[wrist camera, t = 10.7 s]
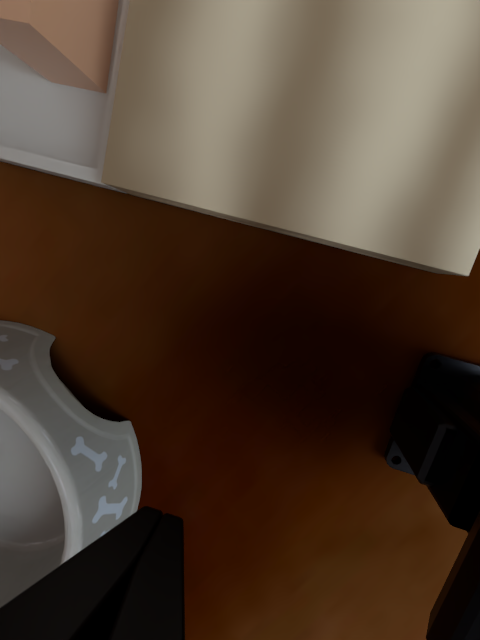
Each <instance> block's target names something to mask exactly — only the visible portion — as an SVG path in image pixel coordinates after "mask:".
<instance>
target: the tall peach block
mask: <svg viewBox="0 0 480 640" xmlns="http://www.w3.org/2000/svg"><path fill="white" fill-rule="evenodd" d="M118 4H119V0H0V45H2V46H3V47H5V48H6V49H7V50H9V51H10V52H11V53H13V54H14V55H15V56H17V57H18V58H19V59H21V60H22V61H23V62H25V63H26V64H27V65H29V66H30V67H31V68H33V69H34V70H35V71H37V72H38V73H39V74H41V75H42V76H43V77H45V78H46V79H47V80H49V81H50V82H52V83H57V84H62V85H67V86H72V87H77V88H82V89H87V90H91V91H96V92H101V93H106V92H107V85H108V77H109V70H110V63H111V55H112V48H113V41H114V33H115V26H116V19H117V11H118Z"/></svg>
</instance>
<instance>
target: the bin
mask: <svg viewBox="0 0 480 640" xmlns="http://www.w3.org/2000/svg"><path fill="white" fill-rule="evenodd" d="M129 2H130V0H119V4H118V11H117V19H116V26H115V33H114V41H113V48H112V55H111V63H110V70H109V77H108V85H107V92H106V93H101V92H96V91H91V90H87V89H82V88H77V87H72V86H67V85H62V84H57V83H52V82H50V81H49V80H47V79H46V78H45V77H43V76H42V75H41V74H39V73H38V72H37V71H35V70H34V69H33V68H31V67H30V66H29V65H27V64H26V63H25V62H23V61H22V60H21V59H19V58H18V57H17V56H15V55H14V54H13V53H11V52H10V51H9V50H7V49H6V48H5V47H3V46H2V45H0V161H1V162H5V163H9V164H13V165H17V166H21V167H25V168H28V169H32V170H36V171H40V172H44V173H48V174H52V175H56V176H60V177H63V178H67V179H71V180H75V181H79V182H83V183H87V184H91V185H95V186H98V187H102V188H106V189H110V190H114V191H118V192H122V193H126V192H123V191H121V190H118V189H116V188H114V187H111V186H109V185H106V184H104V183H101V179H102V172H103V166H104V160H105V153H106V147H107V141H108V134H109V128H110V122H111V115H112V109H113V103H114V96H115V90H116V84H117V77H118V71H119V65H120V59H121V52H122V46H123V40H124V33H125V27H126V21H127V14H128V8H129ZM126 194H127V193H126Z"/></svg>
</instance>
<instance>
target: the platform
mask: <svg viewBox="0 0 480 640" xmlns="http://www.w3.org/2000/svg"><path fill="white" fill-rule="evenodd" d="M101 183H104V184H106V185H109V186H111V187H114V188H116V189H118V190H121V191H123V192H126V193H128V194H131V195H134V196H137V197H141V198H145V199H149V200H153V201H157V202H161V203H165V204H169V205H172V206H176V207H180V208H184V209H188V210H192V211H196V212H200V213H204V214H208V215H211V216H215V217H219V218H223V219H227V220H231V221H235V222H239V223H243V224H246V225H250V226H254V227H258V228H262V229H266V230H270V231H274V232H278V233H281V234H285V235H289V236H293V237H297V238H301V239H305V240H309V241H313V242H317V243H320V244H324V245H328V246H332V247H336V248H340V249H344V250H348V251H352V252H355V253H359V254H363V255H367V256H371V257H375V258H379V259H383V260H387V261H390V262H394V263H398V264H402V265H406V266H410V267H414V268H418V269H422V270H426V271H429V272H433V273H439V274H450V275H461V276H469V273H470V271H471V268H472V266H473V263H474V261H475V258H476V256H477V254H478V251H479V249H480V0H130V2H129V8H128V14H127V21H126V27H125V33H124V40H123V46H122V52H121V59H120V65H119V71H118V77H117V84H116V90H115V96H114V103H113V109H112V115H111V122H110V128H109V134H108V141H107V147H106V153H105V160H104V166H103V172H102V179H101Z"/></svg>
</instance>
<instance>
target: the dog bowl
mask: <svg viewBox="0 0 480 640" xmlns="http://www.w3.org/2000/svg"><path fill="white" fill-rule="evenodd" d="M55 338H56V337H55V336H53V335H51V334H49V333H47V332H45V331H42V330H40V329H37V328H34V327H31V326H28V325H25V324H21V323H16V322H10V321H2V320H0V607H2V606H3V605H4V604H6V603H7V602H9V601H10V600H12V599H13V598H14V597H16V596H17V595H19V594H20V593H21V592H23V591H24V590H26V589H27V588H29V587H30V586H31V585H33V584H34V583H36V582H37V581H38V580H40V579H41V578H43V577H44V576H46V575H47V574H48V573H50V572H51V571H53V570H54V569H56V568H57V567H58V566H60V565H61V564H63V563H64V562H65V561H67V560H68V559H70V558H71V557H73V556H74V555H75V554H77V553H78V552H80V551H81V550H82V549H84V548H85V547H87V546H88V545H90V544H91V543H92V542H94V541H95V540H97V539H98V538H99V537H101V536H102V535H104V534H105V533H107V532H108V531H109V530H111V529H112V528H114V527H115V526H116V525H118V524H119V523H121V522H122V521H124V520H125V519H126V518H128V517H129V516H131V515H132V514H134V513H135V512H136V511H137V508H138V504H139V500H140V494H141V484H142V468H141V458H140V452H139V447H138V443H137V439H136V435H135V432H134V429H133V427H132V424H131V422H130V421H122V422H116V421H115V422H114V421H109V420H105V419H103V418H100V417H98V416H96V415H94V414H92V413H91V412H89V411H88V410H87V409H85V408H84V407H83V406H82V404H81V403H80V402H79V401H78V400H77V399H76V398H75V396H74V395H73V394H72V393H71V391H70V390H69V389H68V388H67V387H66V386H65V385H64V384H63V382H61V381H60V380H59V378H58V377H57V375H56V374H55V372H54V370H53V369H52V366H51V361H50V356H49V355H50V353H49V352H50V346H51V345H52V343H53V341H54V340H55Z"/></svg>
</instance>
